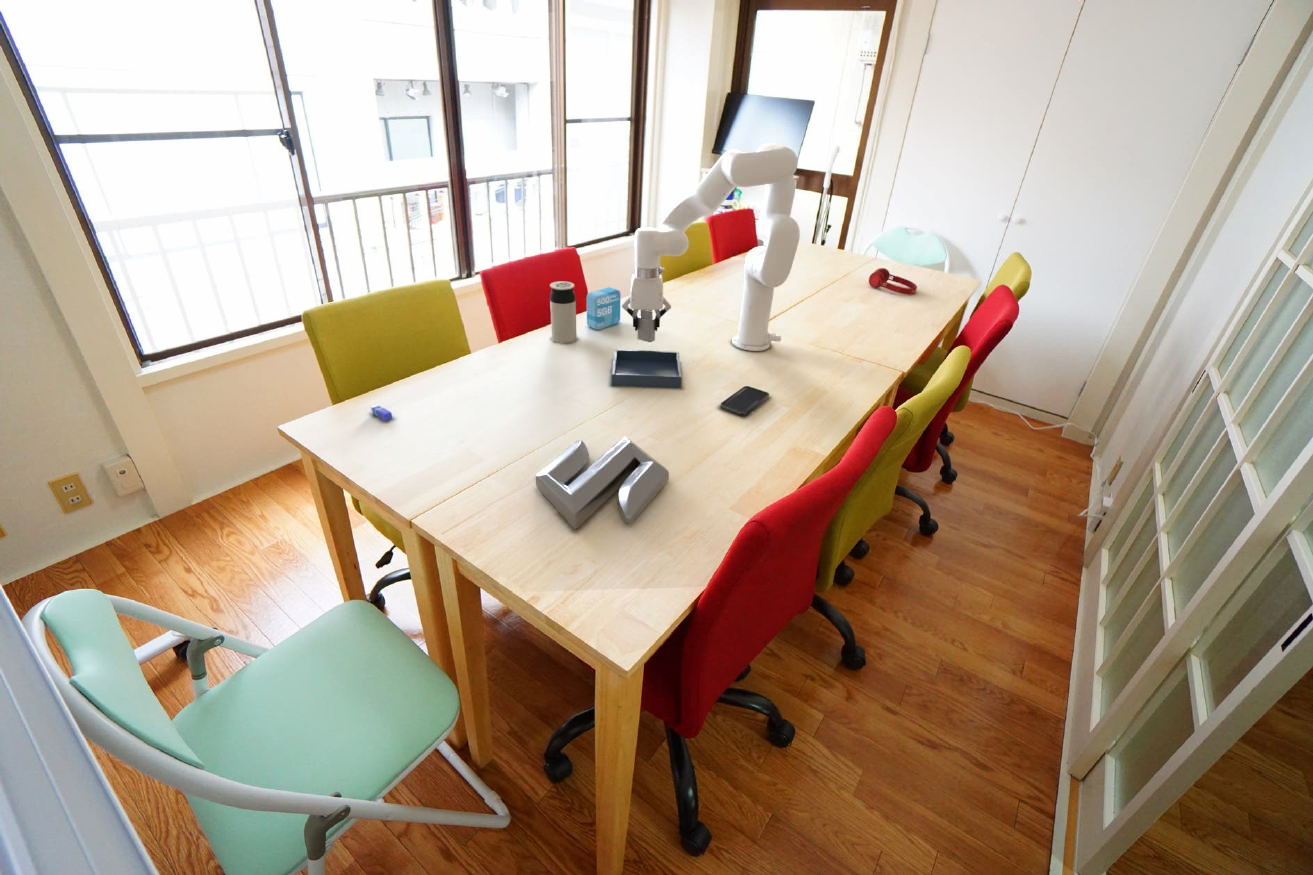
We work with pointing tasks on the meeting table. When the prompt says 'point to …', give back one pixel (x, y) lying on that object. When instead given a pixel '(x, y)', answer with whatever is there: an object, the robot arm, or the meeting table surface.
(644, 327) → the power adapter
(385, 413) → the eraser
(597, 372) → the meeting table surface
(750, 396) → the phone
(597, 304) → the data package
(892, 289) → the headphones
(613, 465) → the emblem
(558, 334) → the travel mug
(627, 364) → the tray
